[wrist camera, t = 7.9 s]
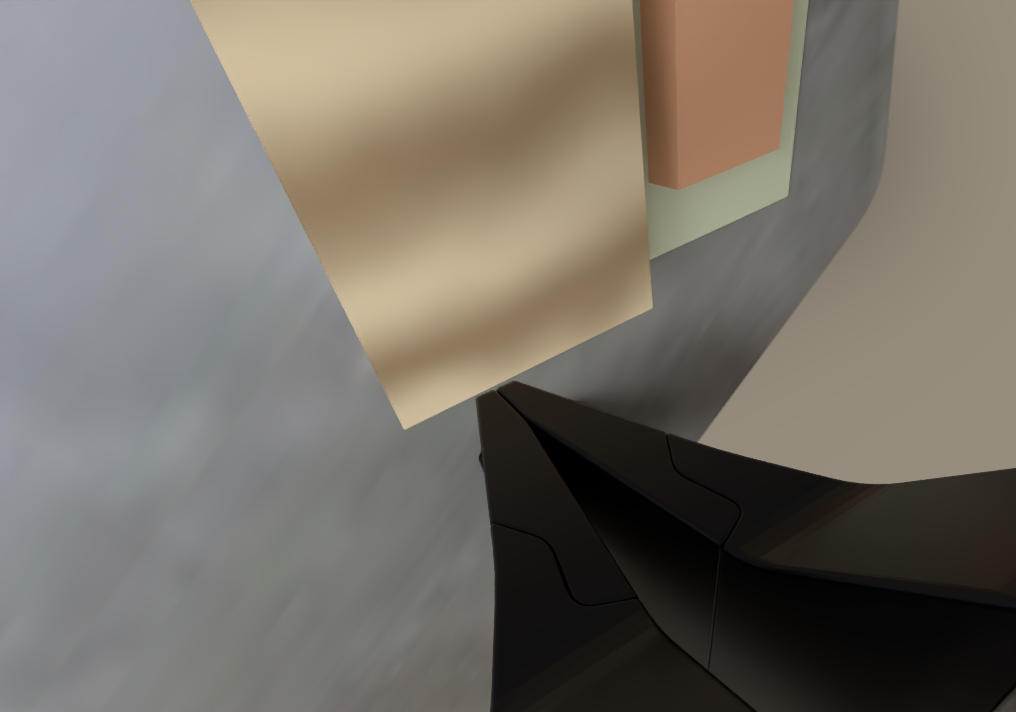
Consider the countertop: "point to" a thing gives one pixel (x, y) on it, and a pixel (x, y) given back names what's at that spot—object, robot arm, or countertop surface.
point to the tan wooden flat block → (453, 173)
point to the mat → (732, 190)
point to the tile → (712, 84)
